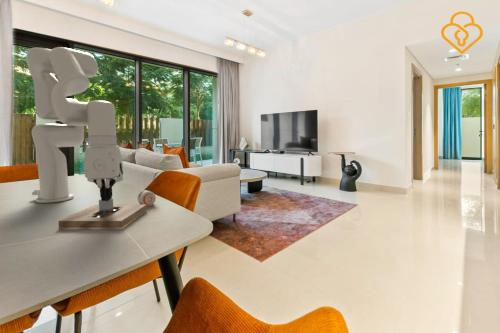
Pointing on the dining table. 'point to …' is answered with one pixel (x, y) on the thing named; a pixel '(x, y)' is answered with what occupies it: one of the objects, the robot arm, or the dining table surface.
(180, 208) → the dining table surface
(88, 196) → the dining table surface
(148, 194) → the roller toy
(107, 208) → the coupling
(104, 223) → the socket plate
